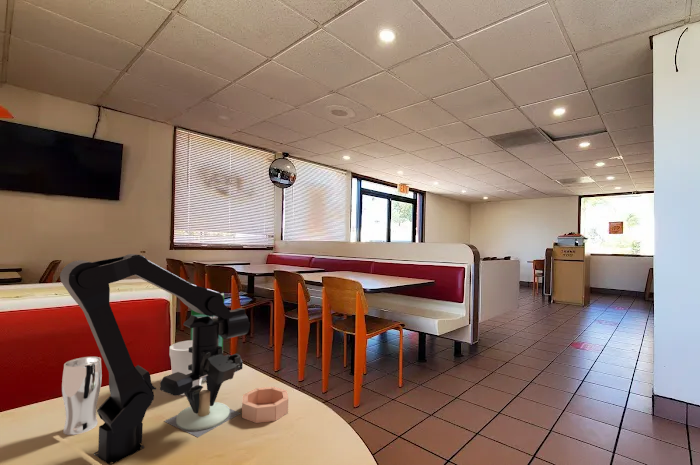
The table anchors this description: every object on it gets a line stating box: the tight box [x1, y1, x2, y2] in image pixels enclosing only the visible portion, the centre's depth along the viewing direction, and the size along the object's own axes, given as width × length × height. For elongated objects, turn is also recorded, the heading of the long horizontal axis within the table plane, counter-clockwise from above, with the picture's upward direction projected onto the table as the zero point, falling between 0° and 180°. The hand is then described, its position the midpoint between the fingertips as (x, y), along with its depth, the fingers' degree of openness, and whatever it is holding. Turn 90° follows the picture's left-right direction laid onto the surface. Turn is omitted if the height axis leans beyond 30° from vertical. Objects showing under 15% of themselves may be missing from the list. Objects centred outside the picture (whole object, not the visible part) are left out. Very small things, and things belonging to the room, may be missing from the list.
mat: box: [163, 408, 242, 438], centre depth 82 cm, size 12×12×1 cm
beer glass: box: [61, 356, 103, 436], centre depth 77 cm, size 7×7×15 cm
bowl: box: [241, 386, 289, 424], centre depth 86 cm, size 11×11×4 cm
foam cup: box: [169, 339, 202, 396], centre depth 96 cm, size 10×9×13 cm
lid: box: [176, 389, 231, 431], centre depth 82 cm, size 12×12×6 cm
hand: (203, 409), depth 82 cm, fingers open, 4 cm apart
